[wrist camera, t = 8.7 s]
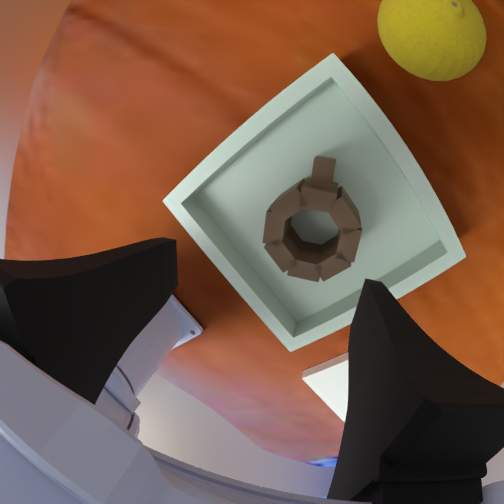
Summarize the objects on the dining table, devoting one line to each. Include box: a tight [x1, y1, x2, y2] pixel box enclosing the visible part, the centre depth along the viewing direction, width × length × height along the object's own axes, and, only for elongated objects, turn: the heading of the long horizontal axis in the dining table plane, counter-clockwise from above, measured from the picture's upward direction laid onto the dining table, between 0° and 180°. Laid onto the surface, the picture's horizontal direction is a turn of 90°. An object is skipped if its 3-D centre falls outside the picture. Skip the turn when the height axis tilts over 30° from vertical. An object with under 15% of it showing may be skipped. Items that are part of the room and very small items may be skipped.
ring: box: [262, 156, 362, 282], centre depth 17 cm, size 7×5×3 cm
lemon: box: [377, 0, 487, 81], centre depth 10 cm, size 6×6×8 cm
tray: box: [163, 53, 466, 352], centre depth 18 cm, size 14×14×2 cm
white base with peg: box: [302, 352, 348, 422], centre depth 22 cm, size 8×8×5 cm
